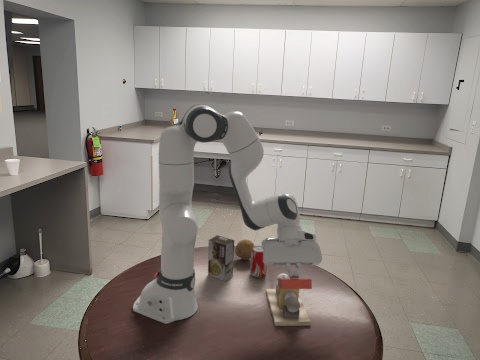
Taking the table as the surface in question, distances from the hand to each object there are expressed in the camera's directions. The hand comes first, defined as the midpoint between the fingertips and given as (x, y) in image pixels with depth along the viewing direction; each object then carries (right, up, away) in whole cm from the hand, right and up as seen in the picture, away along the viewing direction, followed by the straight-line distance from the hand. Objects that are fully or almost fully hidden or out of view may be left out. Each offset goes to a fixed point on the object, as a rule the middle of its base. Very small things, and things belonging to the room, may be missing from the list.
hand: (294, 277), depth 115 cm
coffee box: (-27, -8, +31) cm, 41 cm away
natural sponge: (-16, -5, +45) cm, 48 cm away
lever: (-1, -3, +8) cm, 8 cm away
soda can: (-11, -8, +33) cm, 35 cm away
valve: (-1, -14, +10) cm, 17 cm away
